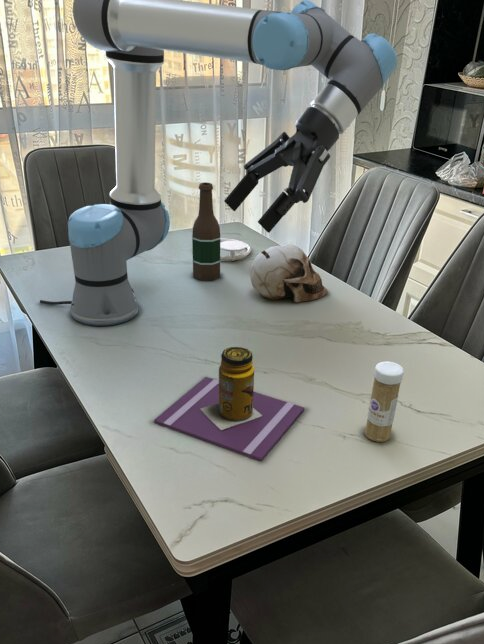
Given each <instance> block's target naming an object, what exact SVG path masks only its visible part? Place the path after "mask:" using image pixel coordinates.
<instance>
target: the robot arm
mask: <svg viewBox="0 0 484 644" xmlns="http://www.w3.org/2000/svg"><path fill="white" fill-rule="evenodd" d="M72 16H73V21H74V24H75V27H76V29H77V32H78V33H79V35H80V36H81V38H83V40H84V41H85V42H86V43H87V44H88V45H90V46H91V47H92V48H94V49H97V50H98V51H99V50H100V51H102V52H105V59H106V60H107V61H108V62H109V64H110V65H111V66H112V68H113V94H114V96H113V100H114V140H115V141H114V142H115V143H114V146H115V181H116V182H115V184H116V185H115V187H114V188H113V189H111V191H110V192H109V204H107V203H99V204H98V203H97V204H96V203H95V204H94V205H86V206H83V207H81V208H78V209H76V210H75V211H73V213H71V214H70V216H69V218H68V221H67V227H68V232H67V237H68V241H69V247H70V255H71V262H72V268H73V275H74V281H75V282H74V283H75V284H74V288H73V293H72V300H61V301H50V300H42V299H40V300H39V304H44V305H50V306H51V305H52V306H58V305H59V306H60V305H70V313H71V317H72V318H73V319H74V320H75V321H76V322H78V323H79V324H84V325H87V326H95V327H105V326H106V327H107V326H115V325H119V324H123V323H125V322H128V321H131V320H132V319H134V318H135V317H136V316H137V315H138V313H139V302H138V299H137V298H136V296H135V294H134V293H135V291H134V289H133V287H132V286H131V283H130V281H129V276H128V264H127V261H128V260H130V259H132V258H134V257H136V256H138V255H141V254H142V253H145V252H147V251H151V250H153V249H155V248H156V247H157V246H158V245H160V244H161V243H162V242H164V240H165V239H166V238H167V236H168V234H169V232H170V226H171V219H170V214H169V211H168V210H167V209H166V206H165V204H164V203H163V201H162V195H161V193H160V192H159V191H157V189H156V187H155V185H156V124H157V123H156V121H157V120H156V119H157V117H156V115H157V113H156V112H157V72H158V70H160V68H162V66H163V65H164V64H165V51H166V52H167V51H168V52H173V53H174V52H175V53H181V54H188V55H194V56H200V57H201V56H202V57H209V58H214V59H222V60H229V61H235V62H243V63H248V64H249V63H250V64H257V65H260V66H264V67H265V68H267V69H270V70H274V71H288V70H291V69H295V68H300V67H308V66H311V67H313V68H315V69H316V70H317V71H318V72H319V73H321V74H322V75H323V76H324V77H325V78H326V79H328V80H329V81H328V82H327V83H326V84H325V85H324V86H323V88H322V89H321V90H320V91H319V92H318V93H317V95H316V96H315V98H314V99H313V100H312V101H311V102H310V106H308V107H306V108H305V110H304V111H303V112H302V113H301V114H300V116H299V117H298V118H297V119H296V120H295V124H294V126H295V129H296V131H295V132H294V134H293V135H292V136H289V135H288V133H287V132H286V131H283V132H282V133H280V135H279V136H278V137H277V138H276V139H275V140H274V141H272V142H271V143H270V144H269V145H268V146H266V147H265V148H264V149H263V150H261V151H260V152H259V153H258V154H256V155H254V157H252V158H251V159H250V160H249V161H247V162H246V163H245V164H244V165H243V168H244V170H245V174H244V176H243V178H241V179H240V181H239V182H238V183H237V184H236V186H235V187H234V188H233V190H231V192H230V193H229V194H228V195H227V196H226V198H224V200H223V202H224V203H225V204H226V205H227V206H228V208H229V209H231V210H232V211H233V212H236V211H237V210H238V209H239V207H241V205H242V204H243V202H244V201H245V200H246V199H247V198H248V196H249V195H250V194H251V193H252V192H253V191H254V189H255V188H256V187H257V186H258V185H259V183H260V182H259V180H261V179H263V178H264V177H266V176H268V175H270V174H271V173H273V172H275V171H277V170H278V169H280V168H282V167H284V168H287V167H292V171H291V174H290V178H289V183H288V186H287V187H286V188H284V191H282V192H281V193H280V194H279V196H278V197H277V198H276V199H275V200H273V202H272V203H271V205H269V207H268V209H267V210H266V211H265V212H264V213H263V215H262V216H261V217H260V218H259V219H258V220H257V223H258V224H259V225H260V226H261V228H263V229H264V231H265V232H267V233H268V234H269V233H270V232H272V230H274V228H275V227H276V225H277V224H278V223H279V222H280V221H281V219H282V218H283V217H284V216H286V215H287V213H288V212H289V211H290V210H291V209H292V208H293V207H294V205H295V204H299V203H300V202H302V203H303V204H306V203H308V202H309V200H310V199H311V196H312V194H313V191H314V189H315V186H316V185H317V182H318V180H319V178H320V175H321V173H322V171H323V168H324V167H325V165H326V164H327V162H328V161H329V160H330V158H331V154H330V153H329V151H330V150H331V149H332V148H333V146H334V145H335V144H336V143H337V142H338V141H339V139H340V135H343V134H344V133H345V131H346V130H347V129H348V128H349V127H350V126H351V124H352V123H353V122H354V121H355V119H356V118H357V117H358V116H359V115H360V114H361V113H362V111H363V110H364V109H365V108H366V107H367V105H368V104H369V103H370V102H371V101H372V99H373V98H374V97H375V96H376V95H377V94H378V93H379V91H380V90H382V89H383V88H384V85H385V84H386V82H387V81H388V80H389V78H391V76H392V74H393V73H394V72H395V70H396V69H397V67H398V56H397V53H396V51H395V49H394V48H393V46H392V45H391V43H390V42H389V41H388V40H387V39H385V37H383V36H381V35H378V34H377V33H369V34H367V35H366V36H365V37H362V39H361V40H360V39H358V38H357V37H355V36H354V35H353V34H352V33H350V32H349V31H348V30H346V28H344V26H342V25H341V24H340V23H339V22H338V21H336V20H335V19H334V18H333V17H331V16H330V15H329V14H328V13H327V12H326V10H325V9H324V8H322V7H320V6H318V5H317V4H315V3H314V2H312V1H311V0H301V1H300V2H299V3H297V4H296V5H295V6H294V7H293V8H292V9H291V11H290V12H286V11H277V10H269V9H268V10H266V9H258V8H250V7H241V6H235V5H234V6H233V5H226V4H225V5H224V4H217V3H216V4H215V3H207V2H199V1H190V0H73V3H72Z"/></svg>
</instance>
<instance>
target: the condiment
mask: <svg viewBox="0 0 484 644" xmlns="http://www.w3.org/2000/svg"><path fill="white" fill-rule="evenodd" d="M221 352H222V353H221V355H220V357H221V359H220V365H219V367H218V380H219V403H216V404H214V405H211V406H208V407H204V408H201V410H202V411H203V413H204V414H205V415H206V416H207V417H208V418H209V419H210V420H211V421H212V422H213V423H214V424H215V425H216V426H217V427H218V428H219V429H220V430H224V429H226V428H229V427H231V426H235V425H238V424H241V423H244V422H247V421H250V420H253V419H255V418H258V417H261V416H262V415H261V414H260V413H259V412H258V411H256V410H255V409H254V408H253V394H254V393H253V392H254V389H255V388H254V386H255V367H254V365H253V363H254V362H253V358H254V357H253V352H252V351H251V350H249V349H248V348H246V347H244V346H243V347H242V346H231V347H227V348H224V350H223V351H221Z"/></svg>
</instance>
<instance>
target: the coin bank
mask: <svg viewBox="0 0 484 644" xmlns="http://www.w3.org/2000/svg"><path fill="white" fill-rule="evenodd" d="M250 282H251V286H252V287H253V289H255V290H256V291H257V292H258V293H259V294H260V296H261V297H263V298H266V299H270V300H280V299H287V298H292V301H293V302H294V303H300V302H310V301H314V300H317V299H318V300H320V299H322V298H323V297H324V296H326V295H327V294H328V289H327V288H326V286H324V285H323V280H322V277H321V275H320V274H319V273H318V272H317V271H315V270H314V267H313V266H312V260H310V258H309V256H307V254H306V253H305V252H304V251H303V249H301V248H300V247H299V246H296V245H294V244H291V243H290V244H281V245H274V246H271V247H268V248H265V249H264V250H262V251H260V252H259V253H257V256H255V258H254V259H253V261H252V263H251V267H250Z"/></svg>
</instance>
